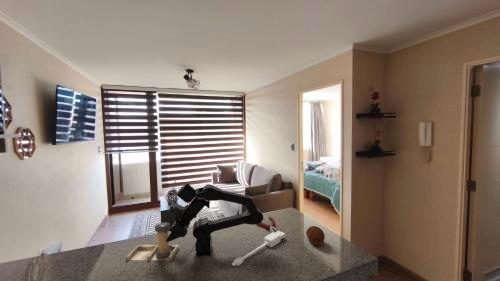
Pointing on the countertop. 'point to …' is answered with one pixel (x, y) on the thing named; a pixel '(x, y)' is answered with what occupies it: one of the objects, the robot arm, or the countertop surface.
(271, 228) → the pliers
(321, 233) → the potato
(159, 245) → the bobbin
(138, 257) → the divided tray
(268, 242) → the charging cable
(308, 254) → the countertop surface
